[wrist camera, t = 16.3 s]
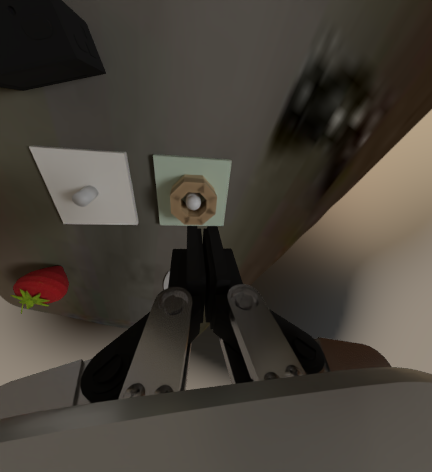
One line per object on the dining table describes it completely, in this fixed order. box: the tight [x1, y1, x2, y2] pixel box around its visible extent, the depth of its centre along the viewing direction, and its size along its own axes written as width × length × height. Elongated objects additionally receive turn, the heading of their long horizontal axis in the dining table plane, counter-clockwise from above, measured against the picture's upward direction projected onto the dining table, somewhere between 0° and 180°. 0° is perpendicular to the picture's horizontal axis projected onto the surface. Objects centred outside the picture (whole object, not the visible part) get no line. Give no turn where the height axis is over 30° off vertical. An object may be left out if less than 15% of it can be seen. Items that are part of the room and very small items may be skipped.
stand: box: [29, 146, 138, 225], centre depth 27 cm, size 12×12×4 cm
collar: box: [170, 174, 217, 225], centre depth 29 cm, size 7×7×4 cm
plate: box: [153, 154, 232, 226], centre depth 29 cm, size 12×12×5 cm
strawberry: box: [11, 266, 69, 314], centre depth 32 cm, size 6×8×10 cm
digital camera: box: [0, 0, 106, 91], centre depth 17 cm, size 10×5×7 cm, turn 100°
